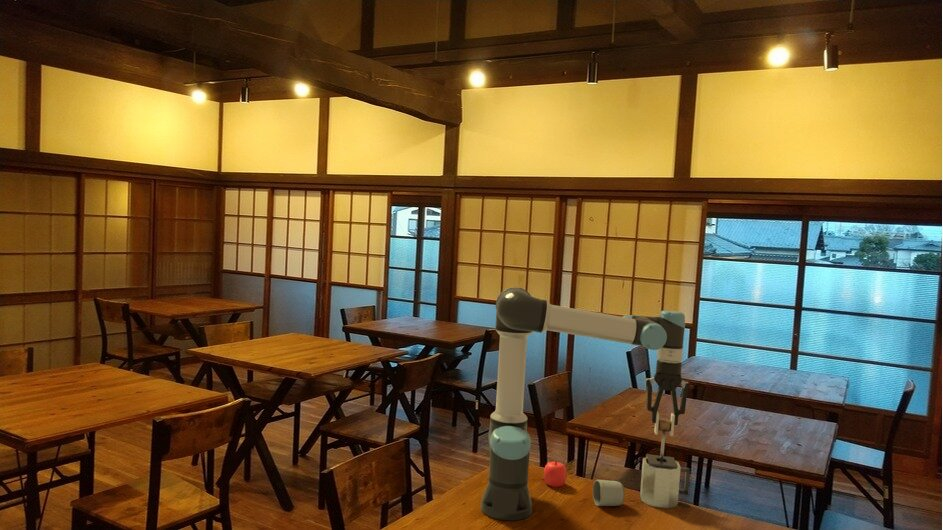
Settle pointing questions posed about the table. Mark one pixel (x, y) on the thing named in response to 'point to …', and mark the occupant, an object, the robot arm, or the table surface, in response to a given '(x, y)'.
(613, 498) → the ceramic mug
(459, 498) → the table surface
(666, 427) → the plunger
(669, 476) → the carafe
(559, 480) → the apple
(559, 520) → the table surface
